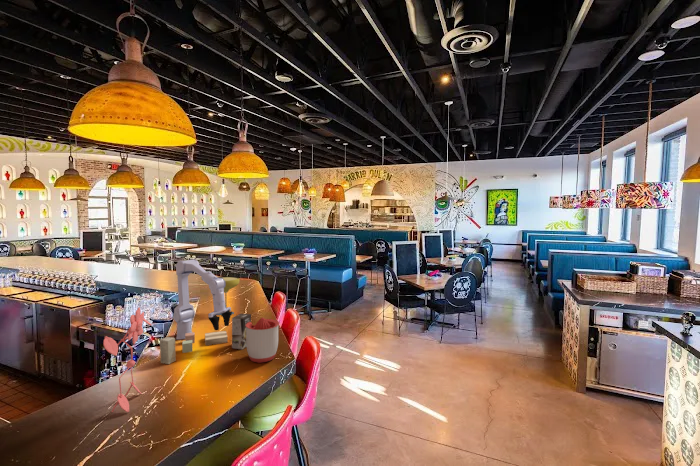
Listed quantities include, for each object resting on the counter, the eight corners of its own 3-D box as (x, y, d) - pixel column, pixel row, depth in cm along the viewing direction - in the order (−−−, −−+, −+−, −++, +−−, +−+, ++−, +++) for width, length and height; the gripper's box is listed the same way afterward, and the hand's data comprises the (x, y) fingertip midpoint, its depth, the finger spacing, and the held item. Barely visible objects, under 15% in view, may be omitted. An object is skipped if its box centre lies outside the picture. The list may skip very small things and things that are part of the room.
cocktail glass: (245, 312, 237) (244, 278, 236) (223, 319, 222) (223, 282, 221) (228, 308, 247) (228, 275, 246) (206, 314, 232) (206, 278, 230)
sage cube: (182, 349, 171) (182, 341, 171) (192, 348, 173) (192, 339, 173) (182, 353, 167) (182, 344, 167) (192, 351, 169) (192, 342, 169)
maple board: (205, 338, 187) (204, 333, 187) (225, 335, 192) (225, 330, 192) (205, 345, 177) (205, 340, 177) (227, 342, 182) (227, 337, 182)
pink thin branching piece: (95, 427, 108) (96, 320, 107) (131, 387, 134) (132, 300, 132) (147, 423, 111) (148, 319, 110) (173, 385, 136) (174, 300, 135)
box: (176, 360, 158) (175, 337, 158) (168, 364, 154) (168, 340, 154) (167, 359, 160) (167, 336, 159) (159, 362, 156) (159, 339, 155)
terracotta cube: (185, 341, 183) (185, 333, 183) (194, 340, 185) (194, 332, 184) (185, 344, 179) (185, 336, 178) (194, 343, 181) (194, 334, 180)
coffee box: (242, 349, 172) (242, 318, 172) (231, 348, 174) (231, 317, 173) (251, 343, 181) (251, 313, 181) (240, 342, 183) (240, 312, 182)
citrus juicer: (266, 348, 175) (266, 310, 174) (285, 358, 163) (285, 317, 162) (238, 356, 164) (238, 316, 163) (255, 368, 152) (255, 324, 151)
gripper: (215, 304, 166) (218, 331, 166) (234, 298, 180) (237, 323, 180) (204, 305, 169) (206, 332, 168) (223, 299, 182) (226, 324, 182)
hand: (221, 327), depth 174 cm, fingers open, 7 cm apart
